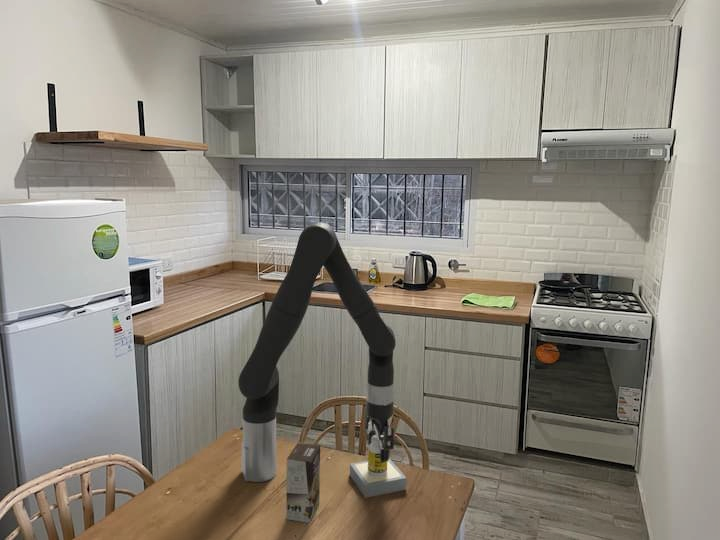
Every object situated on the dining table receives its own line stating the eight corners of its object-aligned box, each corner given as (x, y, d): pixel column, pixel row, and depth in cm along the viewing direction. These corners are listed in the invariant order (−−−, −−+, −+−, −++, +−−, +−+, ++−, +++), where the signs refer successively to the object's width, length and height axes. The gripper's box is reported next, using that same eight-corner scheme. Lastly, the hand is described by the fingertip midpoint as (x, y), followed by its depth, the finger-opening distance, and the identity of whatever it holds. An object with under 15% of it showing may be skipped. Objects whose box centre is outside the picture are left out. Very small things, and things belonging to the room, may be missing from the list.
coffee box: (310, 523, 132) (311, 462, 129) (285, 519, 133) (285, 458, 130) (320, 502, 141) (321, 444, 138) (297, 498, 142) (297, 441, 139)
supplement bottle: (373, 477, 146) (374, 443, 145) (364, 468, 151) (365, 435, 150) (390, 473, 149) (391, 439, 147) (381, 463, 154) (381, 431, 152)
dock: (365, 498, 143) (365, 485, 142) (349, 475, 154) (349, 463, 153) (406, 489, 147) (406, 477, 147) (387, 468, 158) (388, 456, 158)
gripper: (357, 390, 152) (356, 444, 154) (377, 410, 139) (375, 468, 141) (382, 387, 155) (380, 440, 157) (403, 406, 142) (401, 463, 144)
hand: (378, 453), depth 149 cm, fingers open, 8 cm apart
